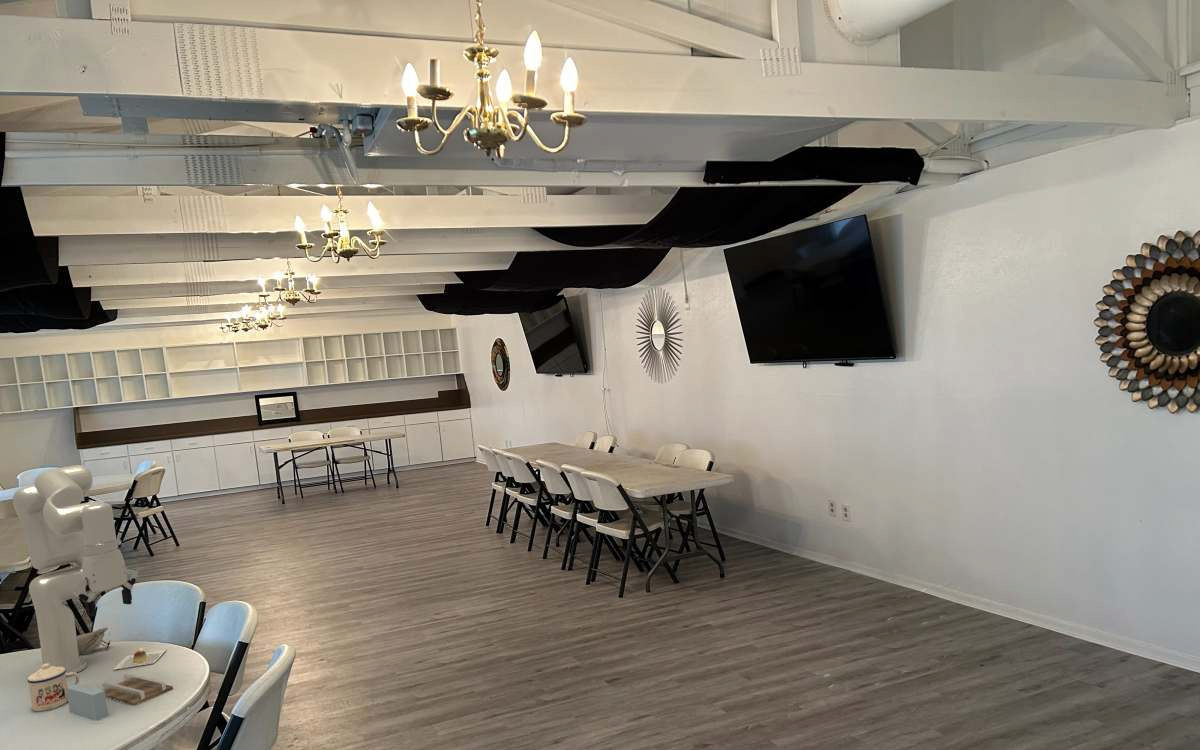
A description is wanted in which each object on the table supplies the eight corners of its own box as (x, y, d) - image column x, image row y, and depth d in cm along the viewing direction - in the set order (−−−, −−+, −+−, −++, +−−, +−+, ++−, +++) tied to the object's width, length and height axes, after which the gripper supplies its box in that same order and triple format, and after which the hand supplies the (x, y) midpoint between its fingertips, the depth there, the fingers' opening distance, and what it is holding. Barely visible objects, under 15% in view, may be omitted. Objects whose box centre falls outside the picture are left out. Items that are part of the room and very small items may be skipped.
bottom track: (96, 695, 237) (95, 685, 237) (134, 679, 247) (133, 670, 247) (134, 705, 227) (133, 695, 227) (173, 688, 236) (171, 679, 236)
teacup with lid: (34, 715, 227) (28, 673, 227) (29, 706, 234) (23, 666, 234) (84, 699, 235) (79, 659, 235) (78, 691, 242) (73, 652, 241)
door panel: (69, 712, 227) (66, 687, 226) (81, 708, 229) (78, 683, 229) (96, 721, 219) (93, 695, 219) (108, 716, 222) (104, 690, 222)
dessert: (113, 673, 256) (111, 657, 256) (127, 658, 268) (125, 644, 268) (154, 666, 258) (152, 651, 258) (167, 652, 270) (165, 638, 270)
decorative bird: (58, 657, 276) (55, 635, 275) (112, 646, 281) (110, 624, 281) (54, 662, 271) (50, 639, 270) (110, 651, 276) (107, 629, 276)
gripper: (125, 540, 238) (133, 599, 239) (61, 557, 223) (70, 619, 224) (140, 540, 234) (148, 600, 235) (76, 557, 220) (84, 621, 220)
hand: (110, 609), depth 230 cm, fingers open, 9 cm apart
